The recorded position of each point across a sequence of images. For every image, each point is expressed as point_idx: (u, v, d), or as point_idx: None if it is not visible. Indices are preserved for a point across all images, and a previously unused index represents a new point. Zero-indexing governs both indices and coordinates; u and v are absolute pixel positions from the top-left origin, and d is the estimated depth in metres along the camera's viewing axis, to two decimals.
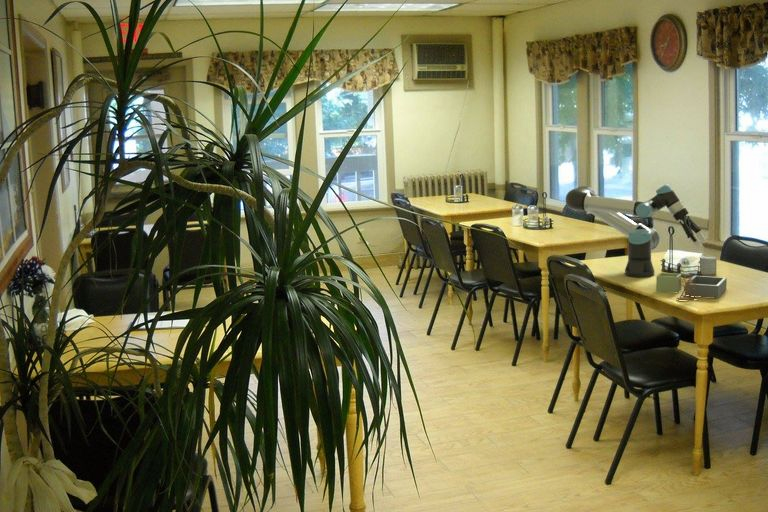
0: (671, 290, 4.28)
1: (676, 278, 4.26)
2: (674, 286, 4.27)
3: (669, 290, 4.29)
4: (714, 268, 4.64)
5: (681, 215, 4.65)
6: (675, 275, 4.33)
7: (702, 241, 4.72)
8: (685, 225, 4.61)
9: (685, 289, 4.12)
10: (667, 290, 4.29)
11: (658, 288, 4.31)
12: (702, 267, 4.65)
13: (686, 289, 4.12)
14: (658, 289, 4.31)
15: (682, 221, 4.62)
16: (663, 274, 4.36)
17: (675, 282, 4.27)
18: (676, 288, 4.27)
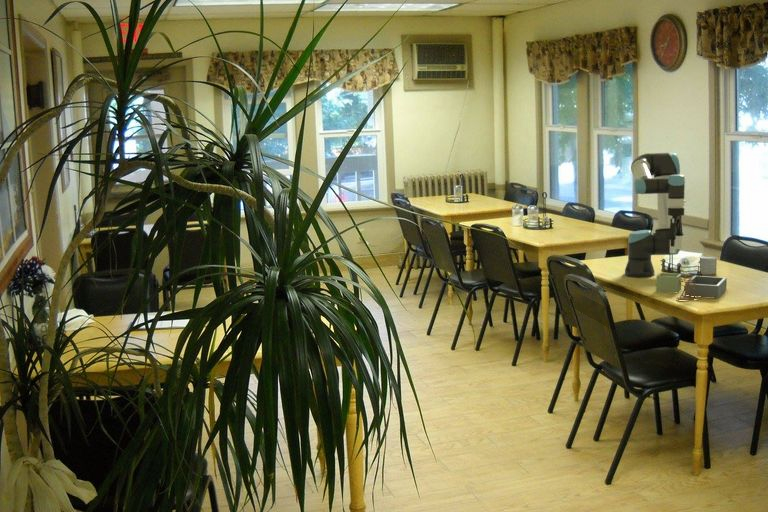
0: (671, 290, 4.28)
1: (676, 278, 4.26)
2: (674, 286, 4.27)
3: (669, 290, 4.29)
4: (714, 268, 4.64)
5: (676, 213, 4.25)
6: (675, 275, 4.33)
7: (677, 246, 4.36)
8: (673, 226, 4.22)
9: (685, 289, 4.12)
10: (667, 290, 4.29)
11: (658, 288, 4.31)
12: (702, 267, 4.65)
13: (686, 289, 4.12)
14: (658, 289, 4.31)
15: (673, 220, 4.22)
16: (663, 274, 4.36)
17: (675, 282, 4.27)
18: (676, 288, 4.27)
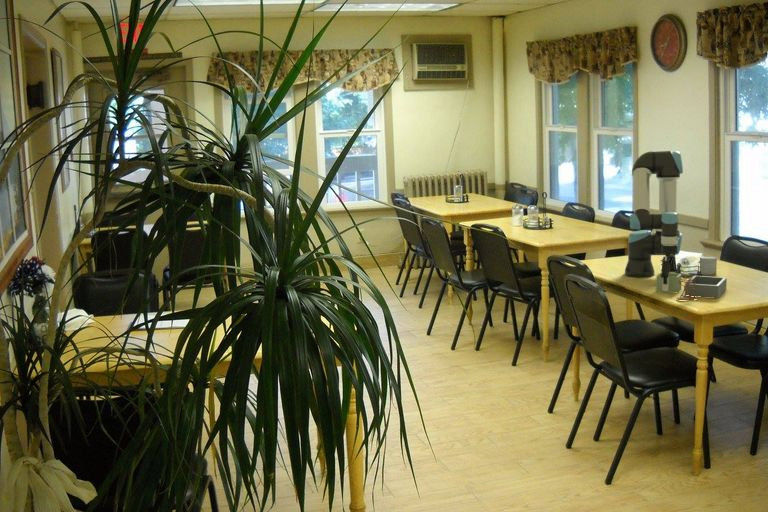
0: (671, 290, 4.28)
1: (676, 278, 4.26)
2: (674, 286, 4.27)
3: (669, 290, 4.29)
4: (714, 268, 4.64)
5: (669, 251, 4.26)
6: (675, 275, 4.33)
7: None
8: (666, 264, 4.24)
9: (685, 289, 4.12)
10: None
11: (658, 288, 4.31)
12: (702, 267, 4.65)
13: (686, 289, 4.12)
14: (658, 289, 4.31)
15: (666, 258, 4.24)
16: None
17: (675, 282, 4.27)
18: (676, 288, 4.27)
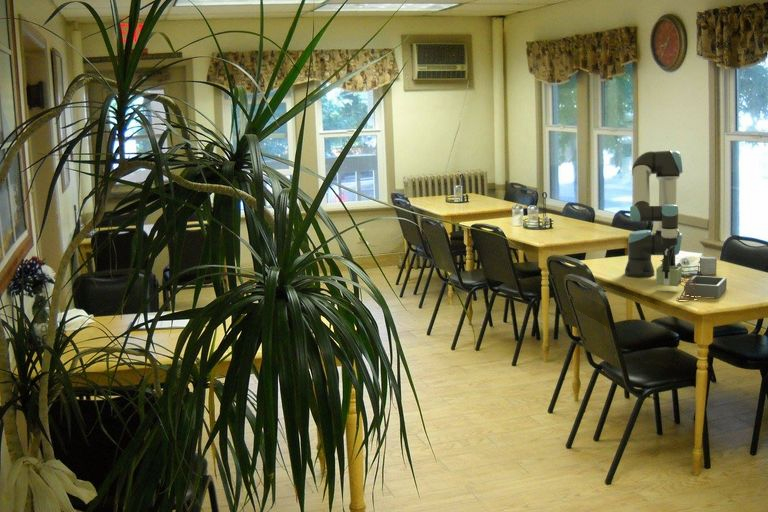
0: (671, 283, 4.28)
1: (676, 271, 4.26)
2: (674, 279, 4.27)
3: None
4: (714, 268, 4.64)
5: (669, 244, 4.25)
6: (675, 268, 4.33)
7: None
8: (667, 258, 4.24)
9: (685, 289, 4.12)
10: None
11: (658, 281, 4.31)
12: (702, 267, 4.65)
13: (686, 289, 4.12)
14: (658, 282, 4.31)
15: (666, 253, 4.24)
16: None
17: (675, 275, 4.26)
18: (676, 281, 4.27)
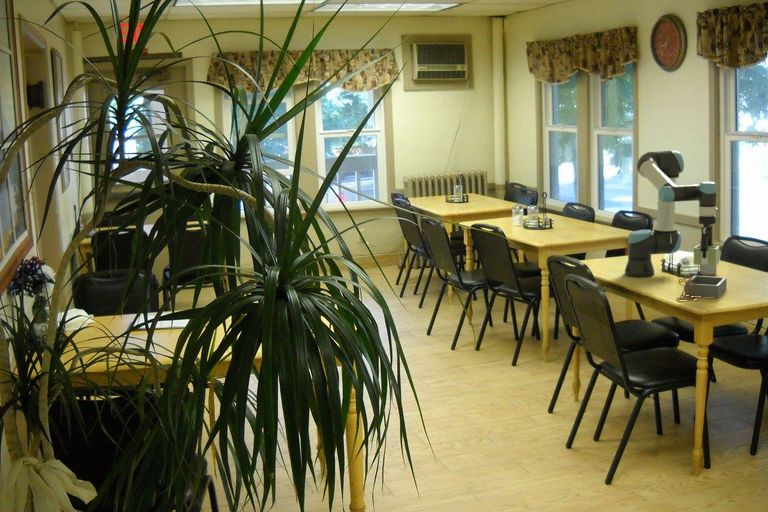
0: (709, 262, 4.18)
1: (714, 250, 4.16)
2: (712, 258, 4.17)
3: None
4: (714, 268, 4.64)
5: (707, 222, 4.16)
6: (713, 247, 4.23)
7: None
8: (705, 237, 4.14)
9: (685, 289, 4.12)
10: None
11: (695, 260, 4.21)
12: (702, 267, 4.65)
13: (686, 289, 4.12)
14: (695, 261, 4.21)
15: (704, 231, 4.14)
16: (700, 246, 4.26)
17: (713, 254, 4.16)
18: (714, 260, 4.17)
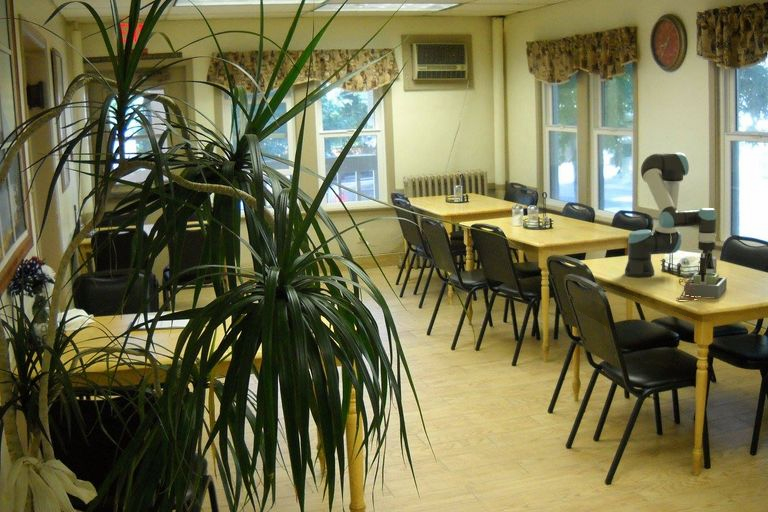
0: None
1: (714, 278, 4.18)
2: None
3: None
4: (714, 268, 4.64)
5: (707, 248, 4.18)
6: (712, 274, 4.25)
7: None
8: (704, 261, 4.16)
9: (685, 289, 4.12)
10: None
11: None
12: None
13: (686, 289, 4.12)
14: None
15: (704, 255, 4.16)
16: None
17: (713, 282, 4.19)
18: None
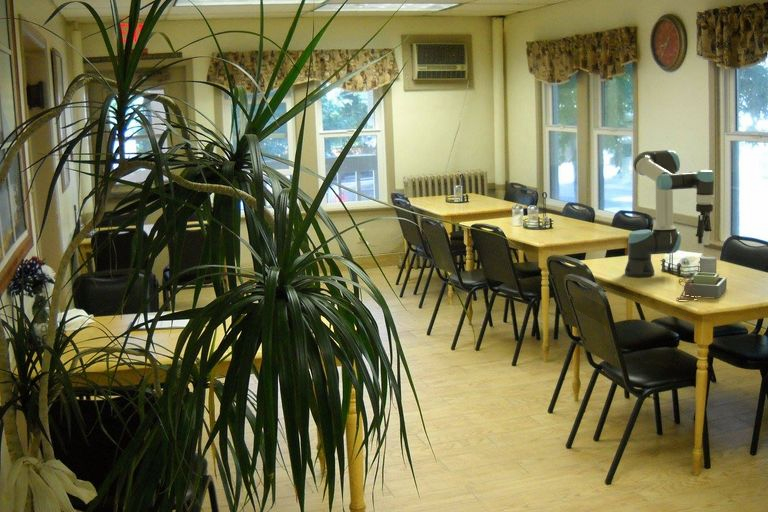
0: None
1: (714, 278, 4.18)
2: None
3: None
4: (714, 268, 4.64)
5: (704, 210, 4.19)
6: (712, 274, 4.25)
7: (704, 242, 4.31)
8: (701, 223, 4.17)
9: (685, 289, 4.12)
10: None
11: None
12: (702, 267, 4.65)
13: (686, 289, 4.12)
14: None
15: (701, 217, 4.17)
16: (699, 273, 4.28)
17: (713, 282, 4.19)
18: None
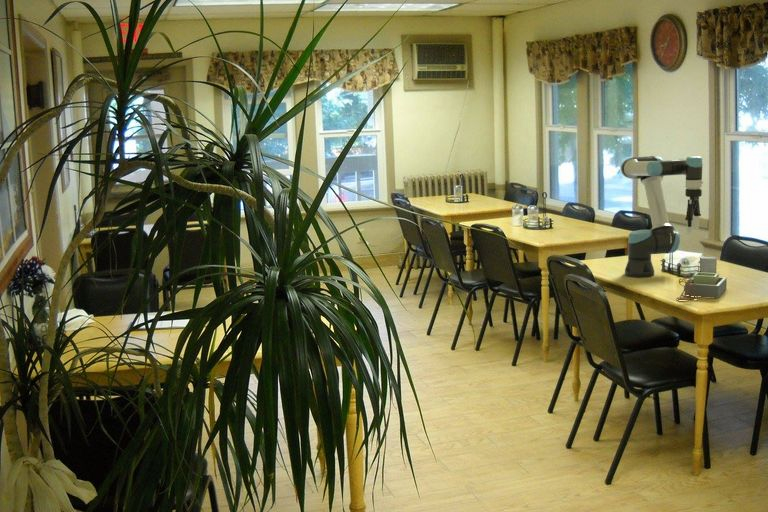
0: None
1: (714, 278, 4.18)
2: None
3: None
4: (714, 268, 4.64)
5: (693, 194, 4.33)
6: (712, 274, 4.25)
7: (694, 226, 4.45)
8: (691, 207, 4.31)
9: (685, 289, 4.12)
10: None
11: None
12: (702, 267, 4.65)
13: (686, 289, 4.12)
14: None
15: (691, 201, 4.31)
16: (699, 273, 4.28)
17: (713, 282, 4.19)
18: None
